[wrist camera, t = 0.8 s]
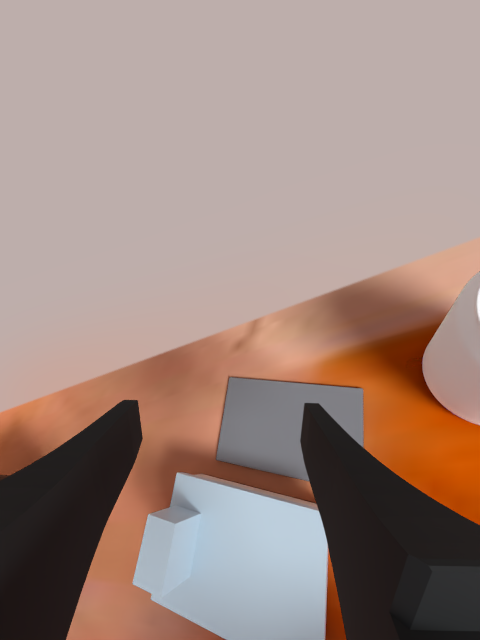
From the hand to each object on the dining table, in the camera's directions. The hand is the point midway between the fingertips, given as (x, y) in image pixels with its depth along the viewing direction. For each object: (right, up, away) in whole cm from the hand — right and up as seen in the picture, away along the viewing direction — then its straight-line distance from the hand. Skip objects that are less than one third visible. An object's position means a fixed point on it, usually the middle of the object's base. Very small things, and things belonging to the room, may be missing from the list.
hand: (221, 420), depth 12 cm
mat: (+5, -6, +14) cm, 15 cm away
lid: (+1, -13, +9) cm, 16 cm away
